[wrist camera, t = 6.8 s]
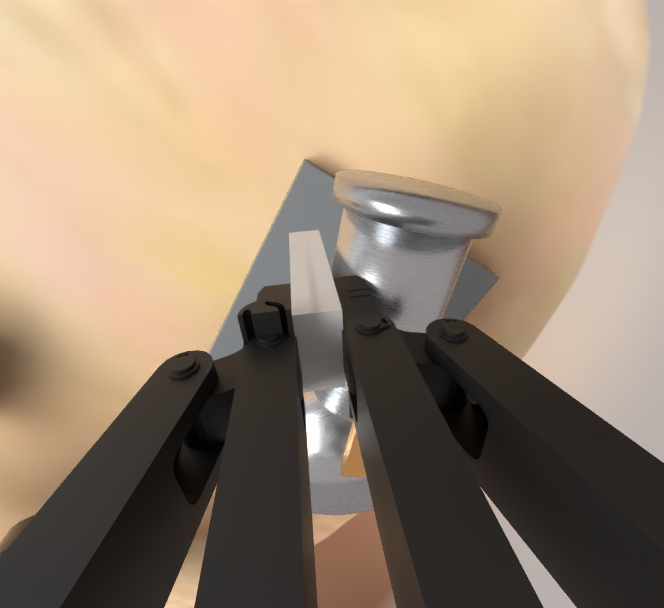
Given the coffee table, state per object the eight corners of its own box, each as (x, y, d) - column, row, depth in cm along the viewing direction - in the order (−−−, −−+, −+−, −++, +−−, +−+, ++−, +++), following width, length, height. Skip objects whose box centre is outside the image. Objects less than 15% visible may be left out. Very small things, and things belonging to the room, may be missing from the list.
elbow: (383, 441, 24) (408, 532, 19) (267, 439, 23) (260, 536, 17) (479, 189, 15) (573, 229, 10) (300, 158, 14) (305, 187, 9)
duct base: (343, 445, 34) (354, 518, 28) (185, 400, 28) (157, 478, 22) (498, 262, 25) (564, 311, 19) (310, 146, 19) (318, 163, 13)
